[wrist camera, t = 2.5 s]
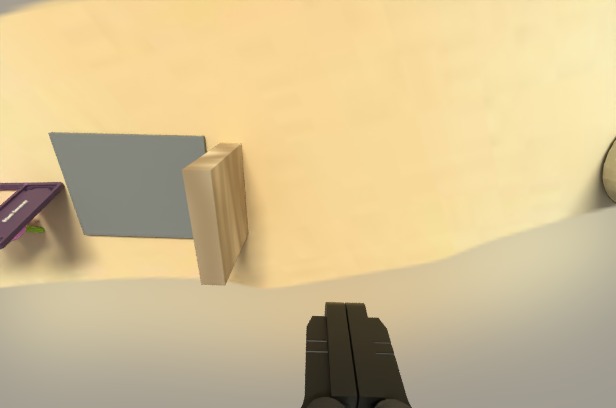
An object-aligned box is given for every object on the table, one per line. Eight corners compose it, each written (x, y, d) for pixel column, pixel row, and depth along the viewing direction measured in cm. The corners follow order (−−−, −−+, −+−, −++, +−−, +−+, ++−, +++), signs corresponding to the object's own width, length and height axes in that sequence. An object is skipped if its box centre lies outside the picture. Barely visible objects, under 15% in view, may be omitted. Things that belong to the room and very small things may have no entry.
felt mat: (204, 136, 22) (202, 136, 22) (217, 237, 26) (216, 238, 25) (51, 132, 22) (48, 133, 22) (86, 232, 26) (83, 234, 26)
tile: (241, 143, 22) (210, 170, 16) (248, 232, 25) (225, 285, 19) (218, 142, 22) (179, 169, 16) (228, 232, 26) (199, 284, 19)
